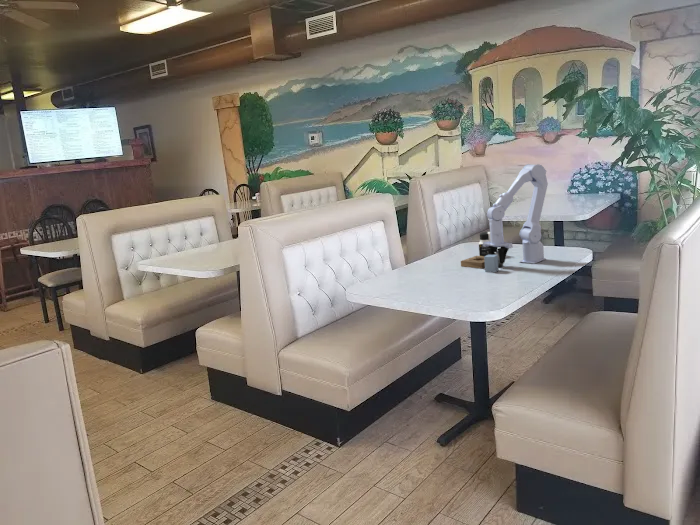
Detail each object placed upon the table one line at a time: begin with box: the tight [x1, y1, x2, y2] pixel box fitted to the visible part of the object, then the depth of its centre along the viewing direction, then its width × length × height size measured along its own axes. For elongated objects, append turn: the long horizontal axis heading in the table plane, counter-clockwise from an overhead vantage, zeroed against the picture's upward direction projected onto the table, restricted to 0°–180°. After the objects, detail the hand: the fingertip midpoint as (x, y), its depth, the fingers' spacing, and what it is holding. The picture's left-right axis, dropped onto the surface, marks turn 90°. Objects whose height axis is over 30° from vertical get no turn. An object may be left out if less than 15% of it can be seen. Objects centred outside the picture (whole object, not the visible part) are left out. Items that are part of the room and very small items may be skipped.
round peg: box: [494, 249, 504, 268], centre depth 255 cm, size 4×4×7 cm
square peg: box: [484, 255, 499, 273], centre depth 249 cm, size 4×4×7 cm
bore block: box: [460, 255, 485, 269], centre depth 264 cm, size 12×12×3 cm
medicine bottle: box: [478, 231, 491, 256], centre depth 280 cm, size 7×7×12 cm
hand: (498, 262), depth 256 cm, fingers closed on round peg, 4 cm apart
